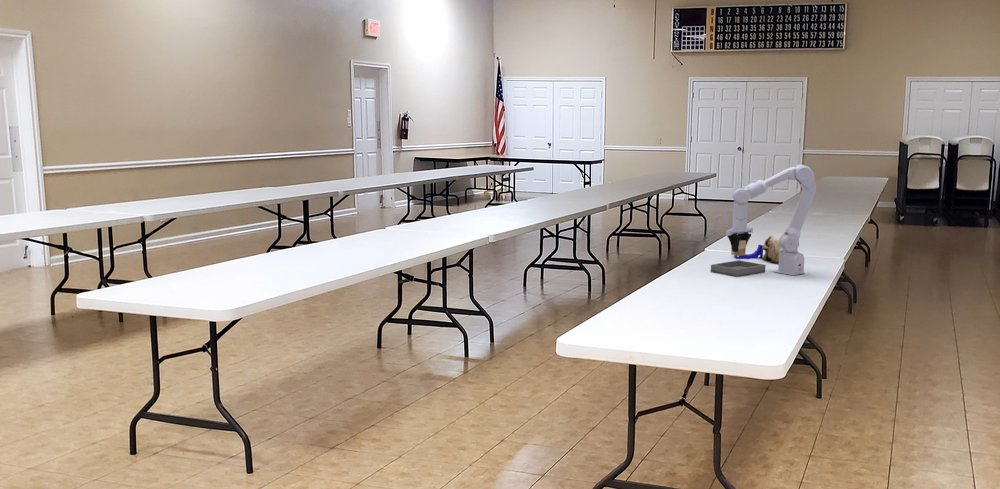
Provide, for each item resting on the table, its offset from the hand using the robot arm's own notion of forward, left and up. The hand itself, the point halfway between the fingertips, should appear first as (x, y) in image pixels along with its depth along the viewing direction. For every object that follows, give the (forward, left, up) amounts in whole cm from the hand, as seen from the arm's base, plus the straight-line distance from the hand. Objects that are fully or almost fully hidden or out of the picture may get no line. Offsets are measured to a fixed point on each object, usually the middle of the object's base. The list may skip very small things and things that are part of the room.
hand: (738, 251), depth 346 cm
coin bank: (+5, -34, -9) cm, 36 cm away
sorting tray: (-1, +1, -8) cm, 9 cm away
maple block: (0, 0, -2) cm, 2 cm away
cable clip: (+17, -29, -9) cm, 35 cm away
